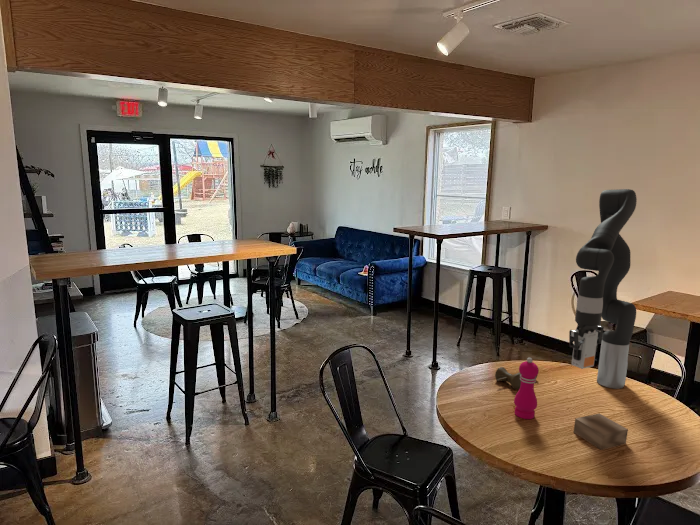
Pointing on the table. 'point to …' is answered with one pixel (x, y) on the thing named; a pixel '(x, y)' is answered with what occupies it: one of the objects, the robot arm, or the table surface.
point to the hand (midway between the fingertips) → (583, 357)
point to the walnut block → (600, 431)
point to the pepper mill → (526, 390)
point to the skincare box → (587, 351)
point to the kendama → (508, 377)
